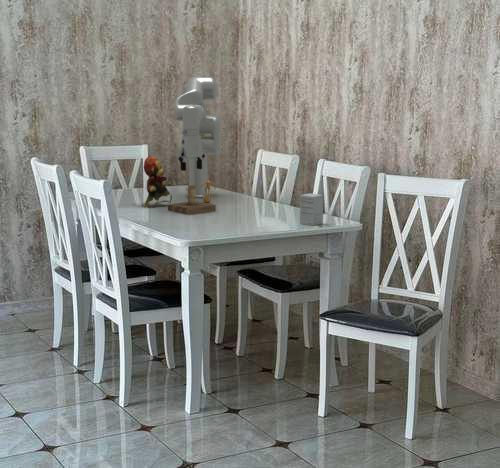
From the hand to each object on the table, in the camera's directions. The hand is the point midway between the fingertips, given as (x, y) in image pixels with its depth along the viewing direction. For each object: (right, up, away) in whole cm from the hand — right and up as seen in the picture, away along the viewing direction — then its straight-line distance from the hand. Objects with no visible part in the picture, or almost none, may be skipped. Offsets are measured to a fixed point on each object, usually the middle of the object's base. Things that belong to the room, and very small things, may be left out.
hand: (191, 169), depth 383 cm
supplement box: (+54, -26, -29) cm, 66 cm away
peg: (0, -19, +3) cm, 19 cm away
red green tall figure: (-18, -17, +18) cm, 30 cm away
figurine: (+6, -15, +28) cm, 32 cm away
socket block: (0, -19, +3) cm, 19 cm away
